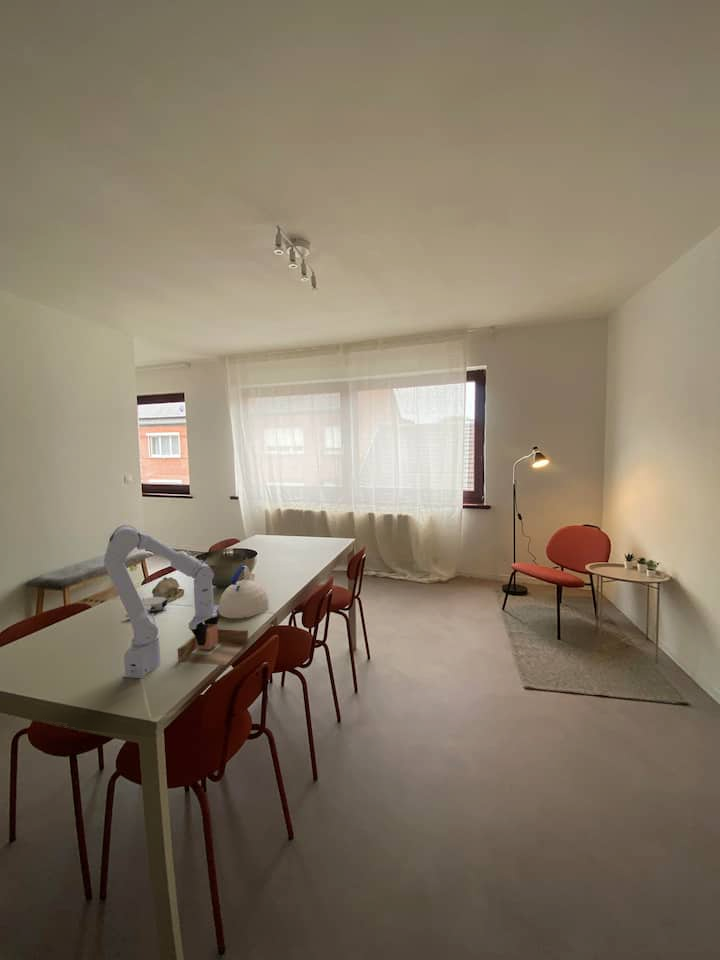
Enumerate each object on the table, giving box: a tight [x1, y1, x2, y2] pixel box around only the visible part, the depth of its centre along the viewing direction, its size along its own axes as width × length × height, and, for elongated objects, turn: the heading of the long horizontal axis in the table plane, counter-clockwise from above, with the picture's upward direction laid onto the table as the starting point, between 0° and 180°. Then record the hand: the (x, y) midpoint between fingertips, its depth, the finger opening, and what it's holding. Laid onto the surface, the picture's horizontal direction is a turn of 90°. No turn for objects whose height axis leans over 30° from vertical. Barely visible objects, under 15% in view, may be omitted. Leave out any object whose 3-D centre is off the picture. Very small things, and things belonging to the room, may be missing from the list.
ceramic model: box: [151, 576, 185, 604], centre depth 179 cm, size 14×11×10 cm
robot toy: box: [125, 596, 171, 618], centre depth 163 cm, size 12×4×15 cm
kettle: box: [218, 565, 270, 619], centre depth 164 cm, size 20×21×18 cm
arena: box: [177, 627, 249, 666], centre depth 128 cm, size 15×16×5 cm
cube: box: [195, 623, 218, 649], centre depth 129 cm, size 5×5×6 cm
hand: (206, 641), depth 129 cm, fingers closed on cube, 5 cm apart
